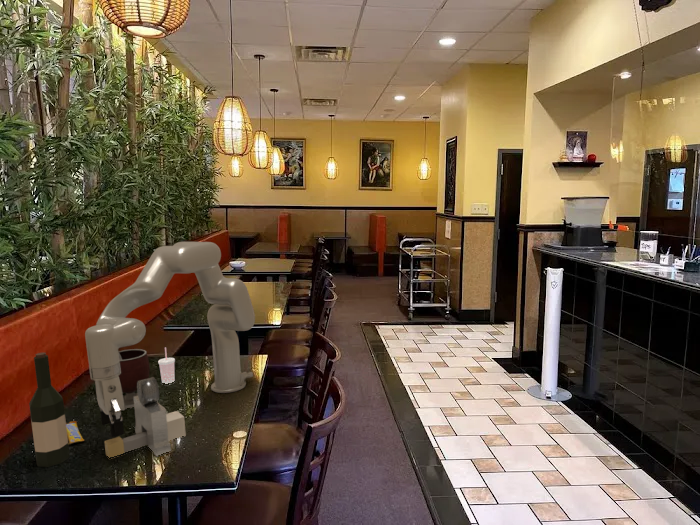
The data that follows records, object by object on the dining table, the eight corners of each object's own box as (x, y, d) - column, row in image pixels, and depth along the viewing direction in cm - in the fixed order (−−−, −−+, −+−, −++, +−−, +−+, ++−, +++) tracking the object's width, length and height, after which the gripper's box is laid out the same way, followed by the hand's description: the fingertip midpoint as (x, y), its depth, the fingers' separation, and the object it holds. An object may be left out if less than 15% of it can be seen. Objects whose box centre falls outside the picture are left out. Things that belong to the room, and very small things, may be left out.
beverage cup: (180, 381, 198) (177, 346, 196) (166, 386, 193) (163, 350, 191) (169, 378, 201) (166, 344, 200) (156, 383, 196) (153, 348, 194)
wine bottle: (45, 470, 135) (32, 360, 131) (29, 462, 139) (16, 356, 135) (76, 456, 142) (64, 351, 138) (60, 449, 146) (48, 347, 142)
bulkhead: (148, 429, 157) (143, 369, 155) (171, 451, 142) (165, 386, 140) (135, 433, 155) (129, 372, 152) (156, 456, 140) (150, 390, 138)
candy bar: (62, 428, 161) (61, 422, 161) (77, 424, 164) (76, 419, 163) (68, 448, 147) (68, 442, 147) (85, 444, 150) (84, 438, 150)
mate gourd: (160, 395, 184) (155, 341, 182) (134, 411, 171) (129, 353, 168) (124, 392, 188) (119, 339, 186) (96, 407, 175) (90, 351, 173)
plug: (178, 429, 156) (176, 410, 155) (185, 436, 152) (184, 416, 151) (104, 453, 143) (102, 432, 142) (110, 460, 139) (108, 439, 138)
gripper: (129, 374, 135) (136, 435, 137) (111, 359, 148) (118, 414, 151) (98, 382, 130) (106, 445, 133) (83, 366, 143) (90, 423, 146)
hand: (112, 429), depth 142 cm, fingers open, 9 cm apart
